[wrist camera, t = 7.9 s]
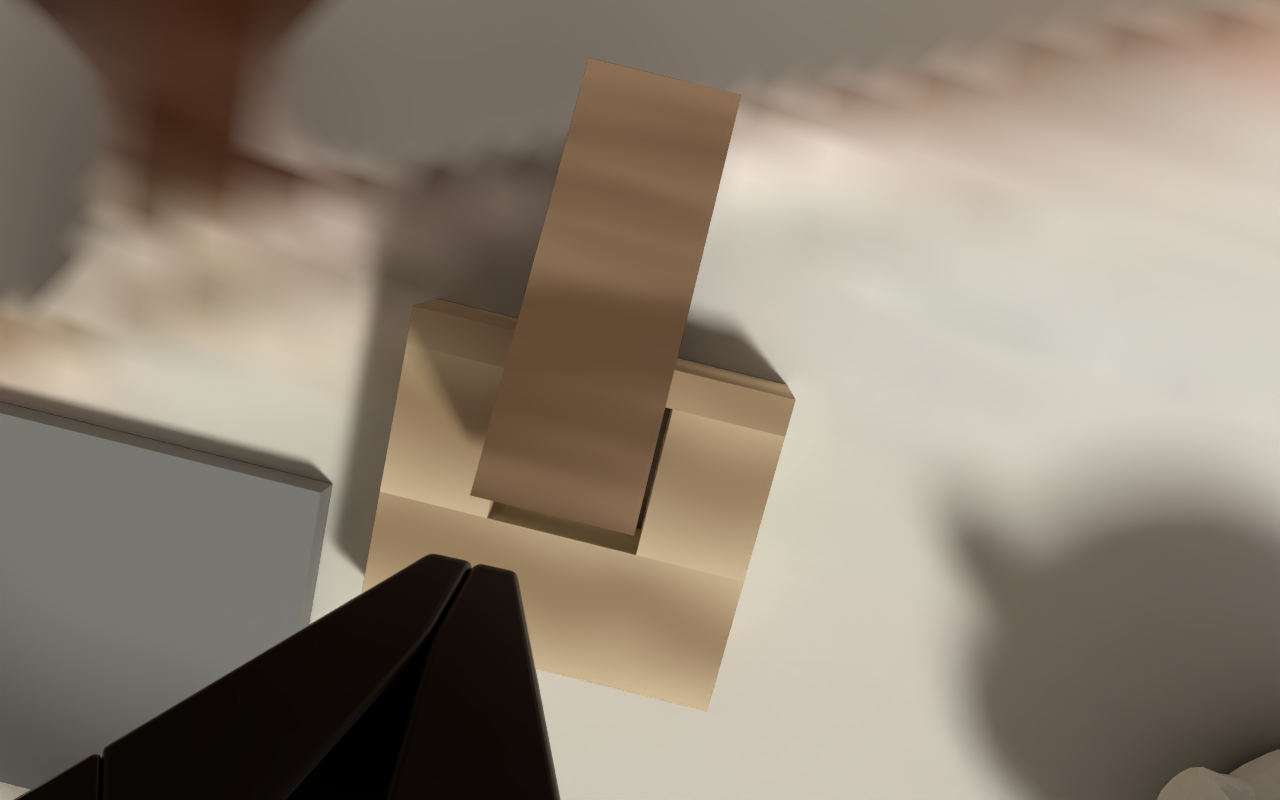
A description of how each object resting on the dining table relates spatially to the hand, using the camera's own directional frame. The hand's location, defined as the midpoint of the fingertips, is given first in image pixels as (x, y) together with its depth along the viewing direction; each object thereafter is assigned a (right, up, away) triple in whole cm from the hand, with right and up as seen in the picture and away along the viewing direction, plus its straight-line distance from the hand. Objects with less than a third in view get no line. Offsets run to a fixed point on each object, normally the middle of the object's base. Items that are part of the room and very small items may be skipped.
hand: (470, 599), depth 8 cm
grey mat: (-15, -5, +18) cm, 24 cm away
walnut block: (+1, +4, +12) cm, 13 cm away
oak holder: (0, -1, +17) cm, 17 cm away
